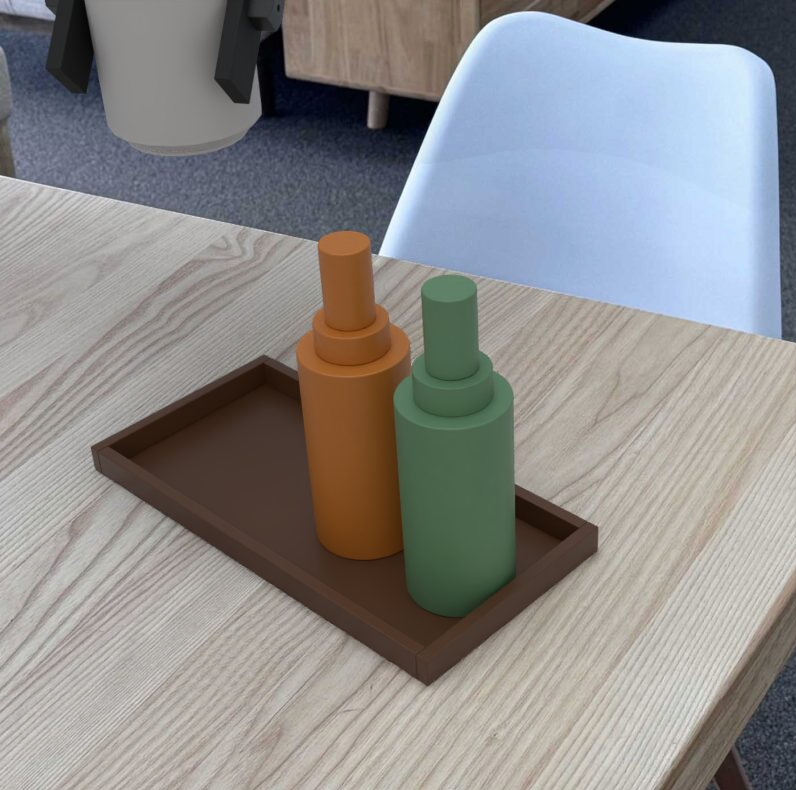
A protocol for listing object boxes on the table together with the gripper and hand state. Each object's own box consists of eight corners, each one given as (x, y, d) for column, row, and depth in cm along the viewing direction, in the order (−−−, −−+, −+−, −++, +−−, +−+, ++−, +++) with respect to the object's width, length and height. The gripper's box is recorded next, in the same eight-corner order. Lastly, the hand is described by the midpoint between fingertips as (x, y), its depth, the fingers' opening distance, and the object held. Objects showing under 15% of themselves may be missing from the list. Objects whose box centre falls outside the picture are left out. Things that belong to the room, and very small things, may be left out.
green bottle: (383, 585, 69) (359, 291, 59) (458, 531, 72) (446, 245, 63) (464, 634, 66) (452, 333, 57) (538, 576, 69) (538, 283, 60)
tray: (97, 480, 77) (89, 446, 76) (268, 385, 85) (264, 353, 84) (428, 698, 63) (426, 661, 62) (597, 561, 71) (598, 526, 70)
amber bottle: (294, 530, 72) (258, 245, 63) (369, 482, 76) (346, 205, 66) (367, 575, 69) (341, 283, 60) (442, 522, 73) (428, 238, 63)
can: (158, 97, 73) (120, -143, 67) (289, 112, 71) (263, -133, 65) (80, 153, 67) (29, -103, 61) (220, 171, 65) (184, -92, 59)
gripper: (-2, -408, 67) (-99, 38, 62) (412, -408, 63) (339, 63, 59) (69, -300, 74) (-14, 106, 70) (444, -295, 71) (380, 131, 66)
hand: (148, 86), depth 64 cm, fingers closed on can, 7 cm apart
